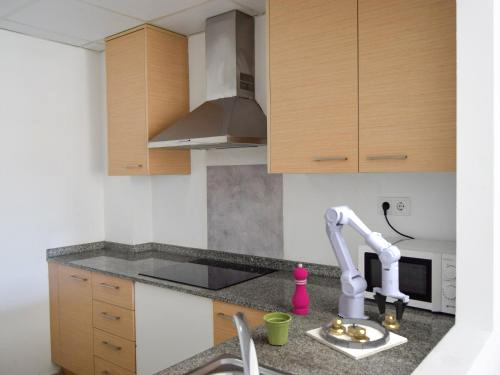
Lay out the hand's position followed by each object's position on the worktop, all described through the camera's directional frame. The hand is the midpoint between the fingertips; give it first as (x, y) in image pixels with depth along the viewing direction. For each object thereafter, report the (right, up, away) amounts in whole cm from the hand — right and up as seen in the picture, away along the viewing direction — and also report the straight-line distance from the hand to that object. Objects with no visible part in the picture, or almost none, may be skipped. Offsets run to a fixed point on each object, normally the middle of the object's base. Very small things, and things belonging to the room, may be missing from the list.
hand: (390, 316), depth 152 cm
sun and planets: (-17, -4, -10) cm, 20 cm away
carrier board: (-15, -5, -9) cm, 18 cm away
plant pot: (-42, -5, -11) cm, 44 cm away
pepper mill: (-31, -4, +18) cm, 36 cm away
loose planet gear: (0, -4, 0) cm, 4 cm away
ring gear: (-15, -3, -9) cm, 18 cm away
